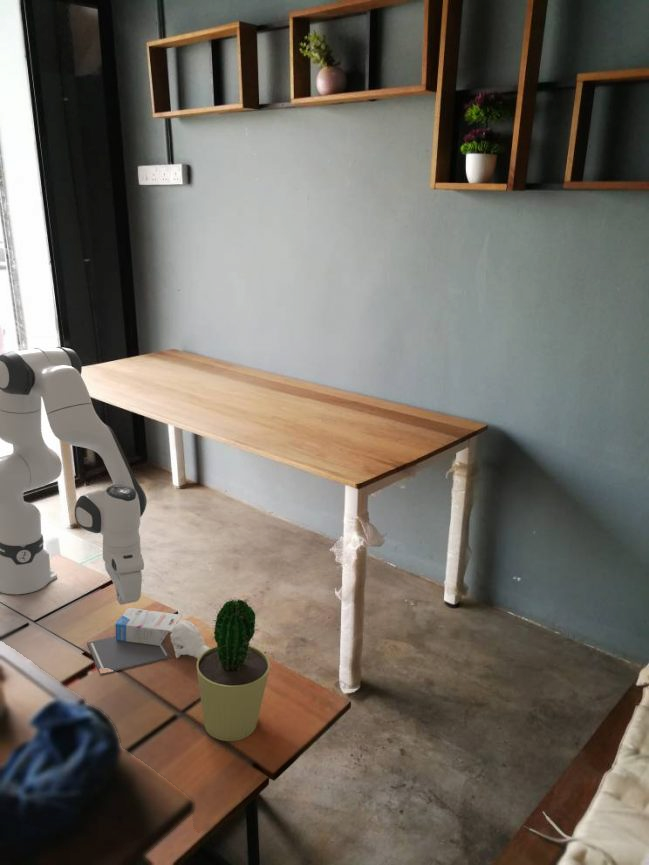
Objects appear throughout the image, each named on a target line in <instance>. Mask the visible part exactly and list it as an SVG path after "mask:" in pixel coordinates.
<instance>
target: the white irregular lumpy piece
mask: <svg viewBox="0 0 649 865" xmlns="http://www.w3.org/2000/svg"><path fill="white" fill-rule="evenodd" d="M169 637H170V643H171V644H172V645H173V650H174V654H175V655H174V656H175V659H179V658H180V657H181V655H182V656H183V655H184V656H185V655H186V656H187V655H188V656H190V657H194V658H196V659H198V658H199V657H200V655H201V654H203V653H204V652H205V651H206V650H208V649H210V648H211V647H209V646H208V645H206V641H205V639H204V638H203V636H202V634H201V632H200V631H199V629H198V628H197V625H196V624H193V623H192V622H191V621H189V620H184V619H183V620H180V621H178V622H177V624H176V625H175V627H174V628H173V630H172V631H171V634H170V635H169Z"/></svg>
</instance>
